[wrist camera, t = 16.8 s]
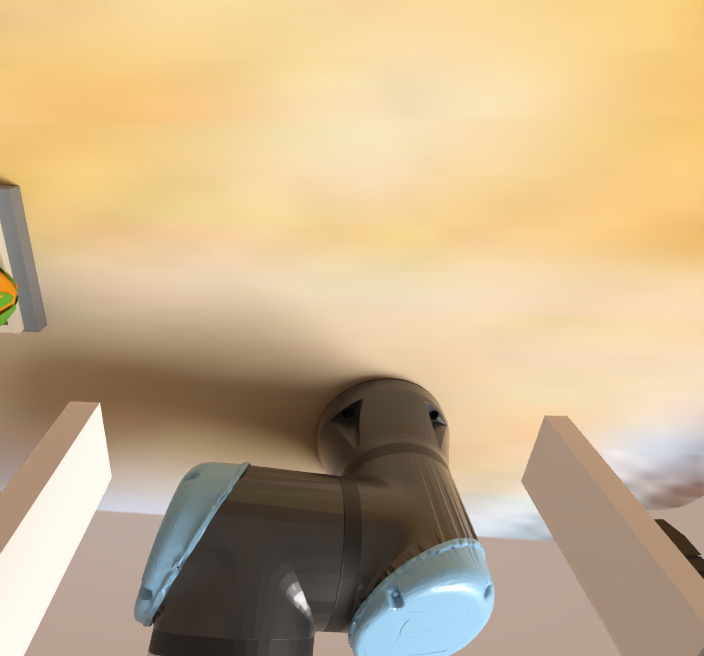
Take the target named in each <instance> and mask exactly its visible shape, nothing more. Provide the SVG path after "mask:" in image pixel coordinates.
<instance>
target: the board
mask: <svg viewBox="0 0 704 656" xmlns="http://www.w3.org/2000/svg"><path fill="white" fill-rule="evenodd" d="M0 267H1V268H2V269H3V270H4V271H5V272H7V273H9V274H10V276H11V277H12V278H13V279H14V280H15V283H16V284H17V285H18V292H17V296H20V297H19V300H18V302H17V304H16V309H15V311H14V312H13V313H12V315H11V316H10V317H9V318H8V320H7V321H6V322H5V323H4V324H3V325H1V326H0V332H1V333H21V332H22V331H28V332H40V331H41V330H42V329H43V328H44V327H45V326H46V325H47V324H46V319H45V314H44V309H43V304H42V299H41V294H40V289H39V284H38V279H37V274H36V269H35V264H34V259H33V253H32V248H31V243H30V238H29V233H28V228H27V223H26V218H25V213H24V208H23V203H22V198H21V193H20V188H19V186H11V185H0Z"/></svg>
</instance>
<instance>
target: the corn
mask: <svg viewBox="0 0 704 656" xmlns="http://www.w3.org/2000/svg"><path fill="white" fill-rule="evenodd" d="M17 292H18V285H17V284H16V283H15V280H14V279H13V278H12V277H11V276H10V274H9V273H7V272H5V271H4V270H3V269H2V268H1V267H0V326H1V325H3V324H4V323H5V322H6V321H7V320H8V318H9V317H10V316H11V315H12V313H13V312H14V311H15V309H16V304H17V302H18V300H19V297H20V296H17Z"/></svg>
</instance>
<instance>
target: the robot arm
mask: <svg viewBox="0 0 704 656" xmlns="http://www.w3.org/2000/svg"><path fill="white" fill-rule="evenodd" d="M317 446H318V455H319V459H320V462H321V465H322V467H323V469H324V470H325V472H326V474H318V473H309V472H300V471H292V470H284V469H276V468H268V467H260V466H252V465H251V463H248V462H245V463H243V464H229V463H213V462H206V463H202V464H199V465H197V466H195V467H193V468H192V469H191V470H190V471H189V472H188V473H187V474H186V475H185V476H184V478H183V479H182V481H181V482H180V484H179V486H178V488H177V490H176V492H175V494H174V496H173V498H172V500H171V502H170V504H169V506H168V509H167V511H166V514H165V516H164V518H163V521H162V523H161V526H160V528H159V531H158V533H157V536H156V539H155V542H154V544H153V547H152V550H151V553H150V556H149V558H148V561H147V564H146V567H145V571H144V574H143V577H142V584H141V587H140V591H139V594H138V597H137V599H136V603H135V609H134V616H135V619H136V620H137V621H138V622H140V623H143V625H144V626H151V625H152V623H154V628H153V633H152V637H151V641H150V646H149V650H148V656H313V645H314V635H315V632H316V631H321V632H322V631H324V632H342V633H348V638H349V639H348V641H349V644H350V647H351V648H352V650H353V653H354V655H355V656H450V655H451V654H453V653H455V652H457V651H458V650H460V649H461V648H463V647H464V646H465V645H467V644H468V643H469V642H470V641H471V640H473V639H474V638H475V636H477V634H478V633H479V632H480V631H481V630H482V628H483V627H484V626H485V624H486V623H487V621H488V619H489V617H490V615H491V612H492V609H493V605H494V595H495V594H494V586H493V582H492V579H491V576H490V573H489V569H488V566H487V563H486V560H485V552H484V549H483V547H482V546H481V544H480V543H479V541H478V539H477V536H476V534H475V532H474V529H473V527H472V524H471V522H470V519H469V517H468V515H467V512H466V510H465V507H464V505H463V502H462V500H461V497H460V495H459V493H458V490H457V488H456V485H455V483H454V480H453V478H452V476H451V473H450V470H449V468H448V462H449V429H448V424H447V421H446V418H445V416H444V414H443V412H442V409H441V407H440V405H439V404H438V402H437V401H436V399H435V398H434V397H433V396H432V395H431V394H430V393H429V392H428V391H426V390H425V389H423V388H422V387H420V386H418V385H416V384H413V383H410V382H407V381H403V380H397V379H379V380H372V381H368V382H364V383H361V384H358V385H356V386H354V387H352V388H350V389H348V390H346V391H345V392H343V393H342V394H340V395H339V396H338V397H337V398H335V399H334V400H333V401H332V402H331V403H330V405H329V406H328V407H327V408H326V410H325V411H324V413H323V415H322V417H321V419H320V422H319V425H318V430H317ZM111 478H112V476H111V470H110V464H109V457H108V451H107V444H106V438H105V431H104V425H103V419H102V412H101V406H100V402H72V401H70V402H69V404H68V405H67V406H66V407H65V409H64V410H63V411H62V413H61V414H60V415H59V417H58V418H57V419H56V421H55V422H54V423H53V425H52V426H51V427H50V429H49V430H48V431H47V433H46V434H45V435H44V437H43V438H42V439H41V441H40V442H39V443H38V445H37V446H36V447H35V448H34V450H33V451H32V452H31V454H30V455H29V456H28V458H27V459H26V460H25V462H24V463H23V464H22V466H21V467H20V468H19V470H18V471H17V472H16V474H15V475H14V476H13V478H12V479H11V480H10V482H9V483H8V484H7V486H6V487H5V488H4V489H3V491H2V492H1V493H0V656H24V654H25V652H26V650H27V648H28V646H29V644H30V642H31V640H32V638H33V636H34V634H35V632H36V630H37V628H38V625H39V624H40V622H41V620H42V618H43V616H44V614H45V612H46V609H47V608H48V605H49V603H50V601H51V599H52V597H53V595H54V593H55V591H56V589H57V587H58V585H59V583H60V581H61V579H62V577H63V575H64V573H65V571H66V569H67V567H68V565H69V563H70V561H71V559H72V557H73V555H74V553H75V551H76V549H77V547H78V545H79V543H80V541H81V539H82V537H83V535H84V533H85V531H86V529H87V527H88V525H89V522H90V521H91V518H92V516H93V515H94V512H95V511H96V509H97V507H98V505H99V503H100V500H101V498H102V496H103V494H104V492H105V490H106V488H107V486H108V484H109V482H110V480H111ZM521 482H522V484H523V485H524V487H525V489H526V490H527V492H528V494H529V496H530V497H531V499H532V501H533V503H534V504H535V506H536V508H537V510H538V511H539V513H540V515H541V517H542V518H543V520H544V522H545V524H546V525H547V527H548V529H549V531H550V532H551V534H552V536H553V538H554V539H555V541H556V543H557V544H558V546H559V548H560V549H561V551H562V553H563V555H564V557H565V558H566V560H567V562H568V564H569V565H570V567H571V569H572V571H573V572H574V574H575V576H576V578H577V579H578V581H579V583H580V585H581V586H582V588H583V590H584V592H585V593H586V595H587V597H588V598H589V600H590V602H591V604H592V605H593V607H594V609H595V610H596V612H597V614H598V616H599V618H600V619H601V621H602V623H603V625H604V626H605V628H606V630H607V632H608V633H609V635H610V637H611V639H612V640H613V642H614V644H615V646H616V647H617V649H618V651H619V652H620V654H621V656H704V559H702V557H701V554H700V553H699V552H698V551H697V550H696V548H695V547H694V546H693V545H692V544H691V543H690V542H689V540H688V539H687V538H686V537H685V536H684V535H683V534H681V533H680V532H679V531H678V530H676V529H675V528H674V527H672V526H671V525H670V524H668V523H667V522H666V521H665V520H663V519H653V518H652V517H651V516H650V515H649V513H648V512H647V511H646V510H645V508H644V507H643V506H642V505H641V504H640V503H639V501H638V500H637V499H636V498H635V497H634V495H633V494H632V493H631V492H630V491H629V489H628V488H627V487H626V486H625V485H624V483H623V482H622V481H621V480H620V479H619V477H618V476H617V475H616V474H615V473H614V471H613V470H612V469H611V468H610V467H609V465H608V464H607V463H606V462H605V461H604V459H603V458H602V457H601V456H600V455H599V453H598V452H597V451H596V450H595V449H594V447H593V446H592V445H591V444H590V443H589V441H588V440H587V439H586V438H585V437H584V435H583V434H582V433H581V432H580V431H579V430H578V428H577V427H576V426H575V425H574V424H573V422H572V421H571V420H570V419H569V418H568V416H544V419H543V422H542V425H541V428H540V430H539V433H538V436H537V439H536V442H535V444H534V447H533V450H532V453H531V456H530V458H529V461H528V464H527V467H526V469H525V472H524V475H523V478H522V481H521Z"/></svg>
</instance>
